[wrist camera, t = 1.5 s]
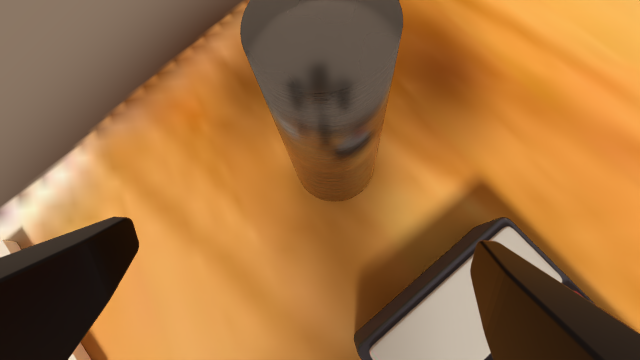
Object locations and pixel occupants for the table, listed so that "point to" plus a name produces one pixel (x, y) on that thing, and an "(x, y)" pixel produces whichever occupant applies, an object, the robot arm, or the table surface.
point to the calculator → (446, 304)
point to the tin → (325, 83)
